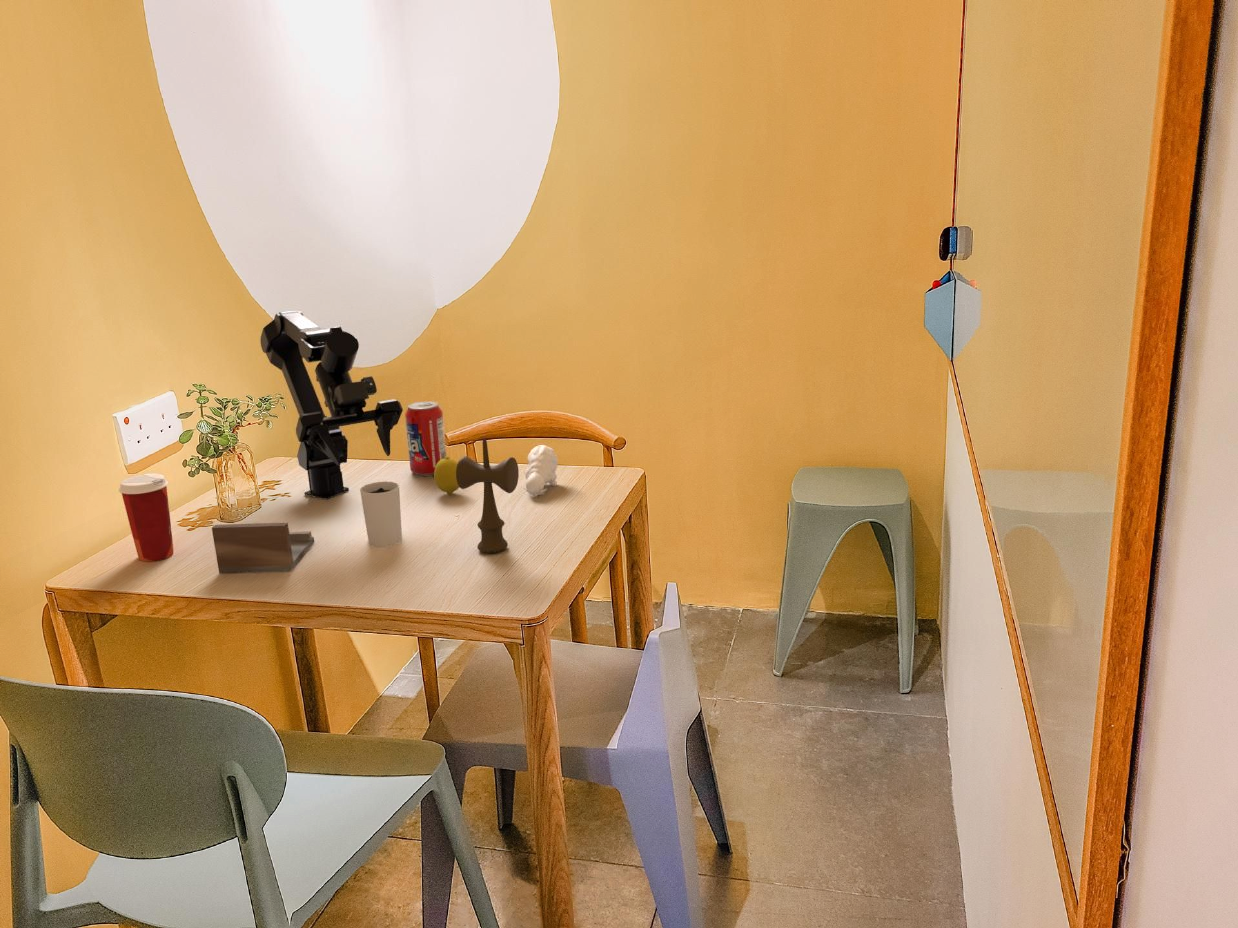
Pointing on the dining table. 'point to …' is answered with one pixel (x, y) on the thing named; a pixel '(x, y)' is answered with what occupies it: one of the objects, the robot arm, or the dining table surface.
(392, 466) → the dining table surface
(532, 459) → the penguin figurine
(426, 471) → the soda can
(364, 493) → the white cup
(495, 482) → the kendama
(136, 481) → the paper cup
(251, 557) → the holder
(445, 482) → the lemon
